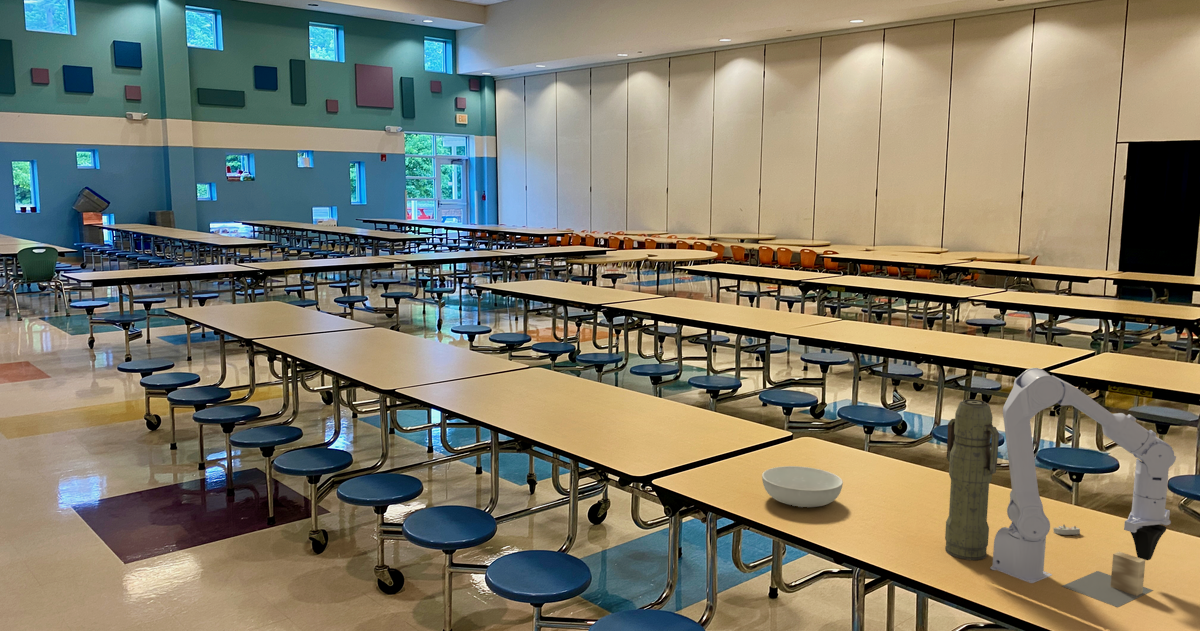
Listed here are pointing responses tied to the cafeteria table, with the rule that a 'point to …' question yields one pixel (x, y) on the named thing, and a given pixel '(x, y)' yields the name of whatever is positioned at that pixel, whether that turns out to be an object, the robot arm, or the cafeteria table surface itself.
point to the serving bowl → (802, 485)
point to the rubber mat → (1102, 589)
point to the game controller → (1067, 530)
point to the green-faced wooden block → (1127, 573)
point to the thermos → (970, 478)
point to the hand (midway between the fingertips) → (1144, 558)
